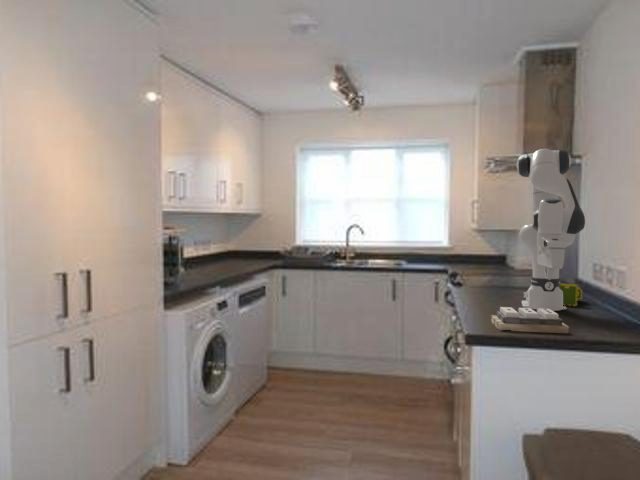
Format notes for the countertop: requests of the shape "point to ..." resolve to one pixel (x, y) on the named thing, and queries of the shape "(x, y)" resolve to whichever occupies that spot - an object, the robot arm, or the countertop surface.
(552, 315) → the key three
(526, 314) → the key two
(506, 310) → the key one
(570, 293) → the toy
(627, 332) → the countertop surface
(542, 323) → the key panel
